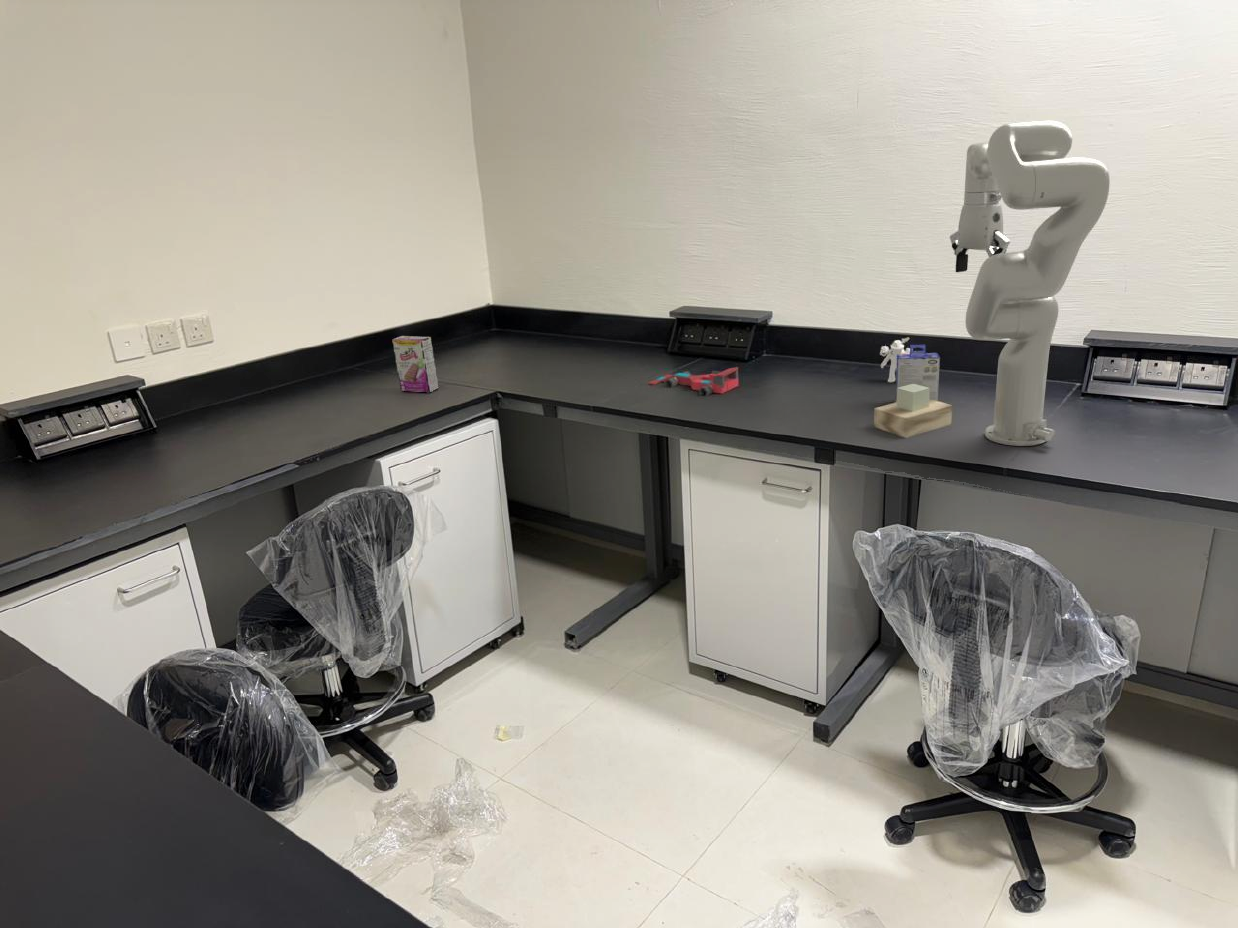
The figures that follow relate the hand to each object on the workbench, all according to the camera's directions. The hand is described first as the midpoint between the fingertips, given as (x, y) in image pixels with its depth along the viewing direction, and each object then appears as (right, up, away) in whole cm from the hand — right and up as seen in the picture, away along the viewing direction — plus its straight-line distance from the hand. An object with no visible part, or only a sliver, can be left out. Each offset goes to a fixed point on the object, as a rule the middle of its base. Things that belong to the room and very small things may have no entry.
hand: (976, 273), depth 209 cm
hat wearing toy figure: (-11, -23, +27) cm, 37 cm away
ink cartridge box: (-12, -31, +8) cm, 34 cm away
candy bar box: (-146, -23, +57) cm, 158 cm away
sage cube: (-18, -32, -8) cm, 38 cm away
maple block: (-17, -37, -6) cm, 41 cm away
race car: (-64, -24, +40) cm, 79 cm away
